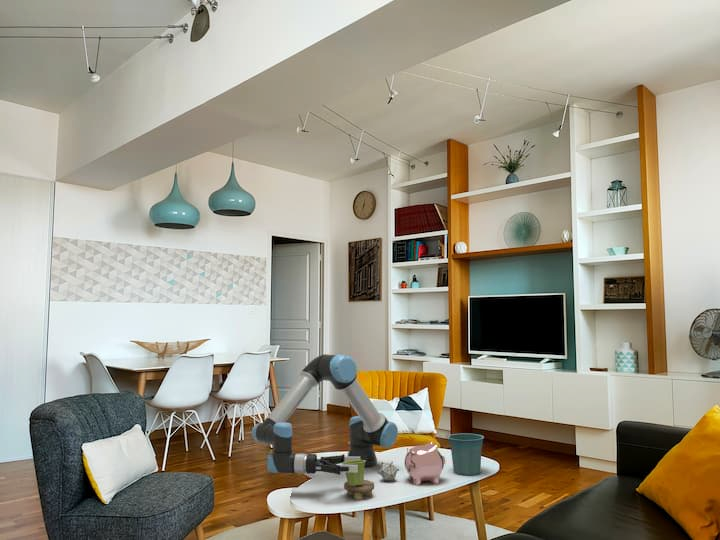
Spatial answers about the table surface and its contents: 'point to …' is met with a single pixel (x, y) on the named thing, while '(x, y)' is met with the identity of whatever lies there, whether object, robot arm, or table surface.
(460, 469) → the flower pot
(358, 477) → the plant pot
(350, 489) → the stand
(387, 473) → the game die
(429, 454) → the piggy bank
